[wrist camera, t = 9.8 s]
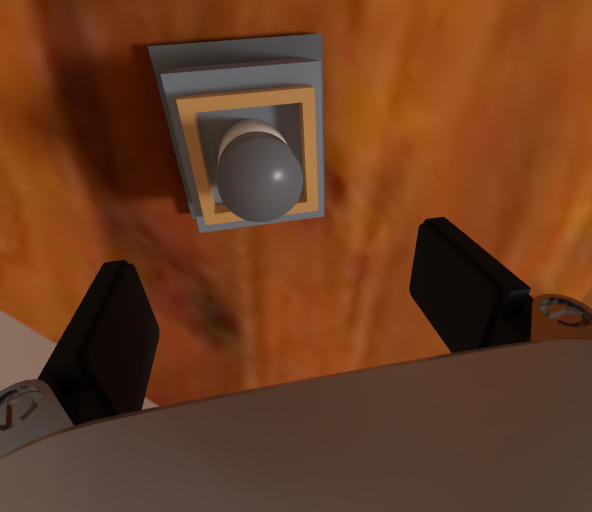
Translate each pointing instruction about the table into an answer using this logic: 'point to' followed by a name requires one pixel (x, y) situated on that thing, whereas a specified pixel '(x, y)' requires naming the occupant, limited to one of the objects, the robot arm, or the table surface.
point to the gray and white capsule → (257, 172)
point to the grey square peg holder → (242, 113)
